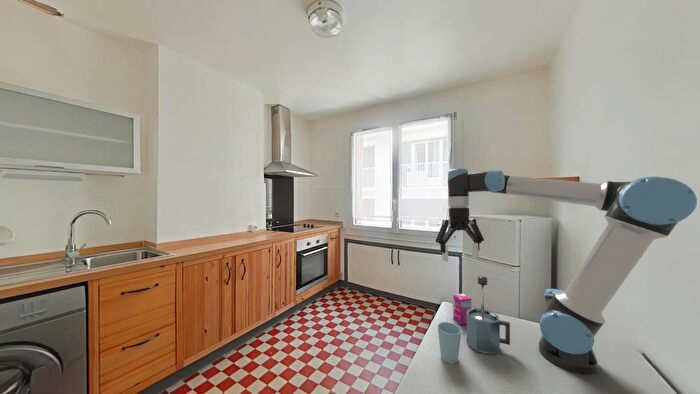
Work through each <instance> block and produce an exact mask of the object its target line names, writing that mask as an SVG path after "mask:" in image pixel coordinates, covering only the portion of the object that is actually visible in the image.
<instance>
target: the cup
mask: <svg viewBox="0 0 700 394" xmlns="http://www.w3.org/2000/svg"><path fill="white" fill-rule="evenodd" d="M437 333H438V341H439V351H440V358H441V359H442V360H443V361H445V362H447V363H451V364H455V363H457V362H458V360H459V356H460V355H459V354H460V353H459V352H460V346H461V338H462V329H461V327H460V326H458V325H457V324H455V323H452V322H448V321H446V322H445V321H443V322H439V323H438V324H437Z"/></svg>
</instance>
